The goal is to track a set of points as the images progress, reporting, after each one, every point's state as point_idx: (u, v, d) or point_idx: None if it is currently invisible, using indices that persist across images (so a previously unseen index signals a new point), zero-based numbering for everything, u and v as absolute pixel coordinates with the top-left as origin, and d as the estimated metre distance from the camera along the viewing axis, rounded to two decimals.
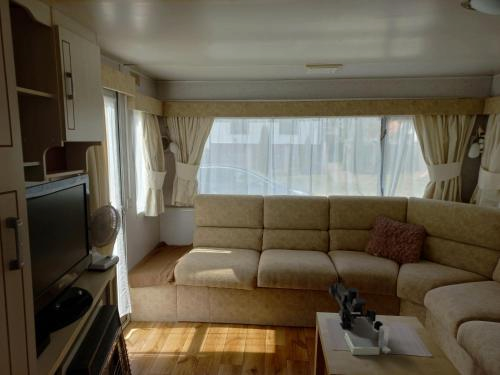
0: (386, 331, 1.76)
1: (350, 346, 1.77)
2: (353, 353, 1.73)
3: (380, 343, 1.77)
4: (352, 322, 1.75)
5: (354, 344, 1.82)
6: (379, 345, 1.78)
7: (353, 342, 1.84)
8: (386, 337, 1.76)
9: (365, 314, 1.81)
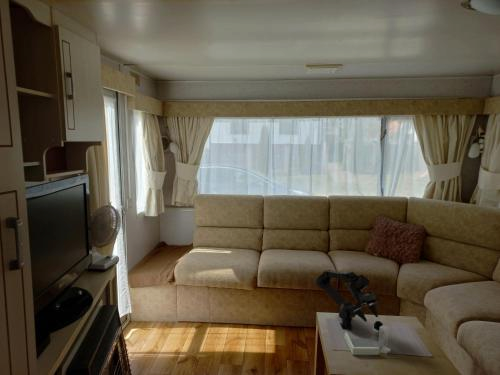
0: (386, 331, 1.76)
1: (350, 346, 1.77)
2: (353, 353, 1.73)
3: (380, 343, 1.77)
4: (363, 318, 1.82)
5: (354, 344, 1.82)
6: (379, 345, 1.78)
7: (353, 342, 1.84)
8: (386, 337, 1.76)
9: (369, 302, 1.89)
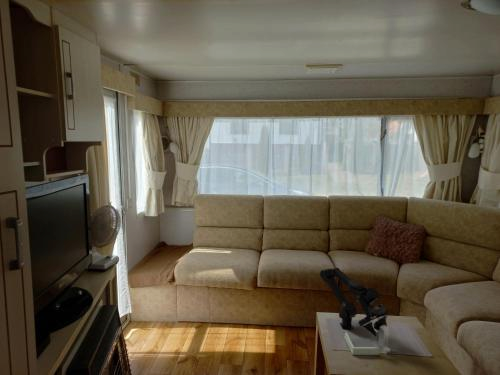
0: (386, 331, 1.76)
1: (350, 346, 1.77)
2: (353, 353, 1.73)
3: (380, 343, 1.77)
4: (373, 332, 1.77)
5: (354, 344, 1.82)
6: (379, 345, 1.78)
7: (353, 342, 1.84)
8: (386, 337, 1.76)
9: (378, 315, 1.84)
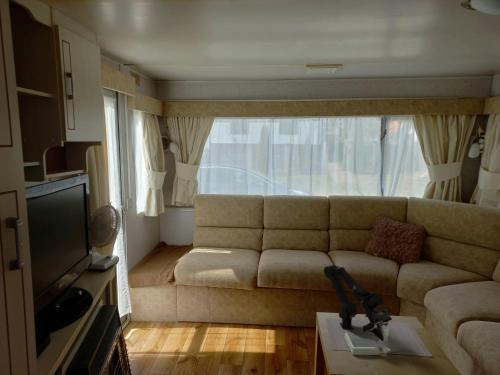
0: (386, 331, 1.76)
1: (350, 346, 1.77)
2: (353, 353, 1.73)
3: (380, 343, 1.77)
4: (379, 337, 1.76)
5: (354, 344, 1.82)
6: (379, 345, 1.78)
7: (353, 342, 1.84)
8: (386, 337, 1.76)
9: (379, 322, 1.81)
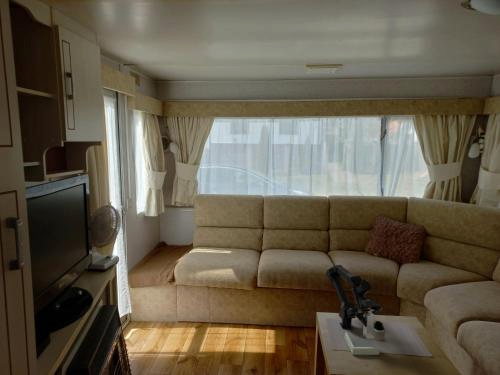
0: (371, 318, 1.76)
1: (350, 346, 1.77)
2: (353, 353, 1.73)
3: (364, 329, 1.78)
4: (363, 323, 1.77)
5: (354, 344, 1.82)
6: (364, 331, 1.79)
7: (353, 342, 1.84)
8: (370, 324, 1.76)
9: (367, 309, 1.81)
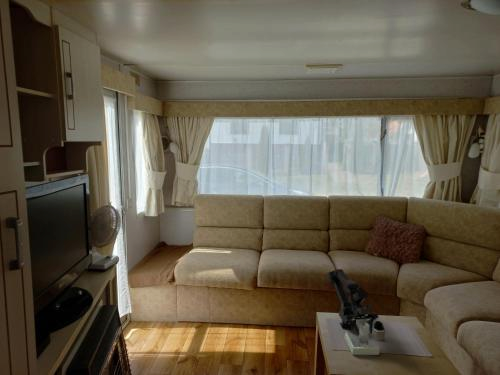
0: (366, 329, 1.77)
1: (350, 346, 1.77)
2: (353, 353, 1.73)
3: (359, 339, 1.80)
4: (356, 330, 1.78)
5: (354, 344, 1.82)
6: (359, 341, 1.80)
7: (353, 342, 1.84)
8: (365, 334, 1.78)
9: (366, 317, 1.83)
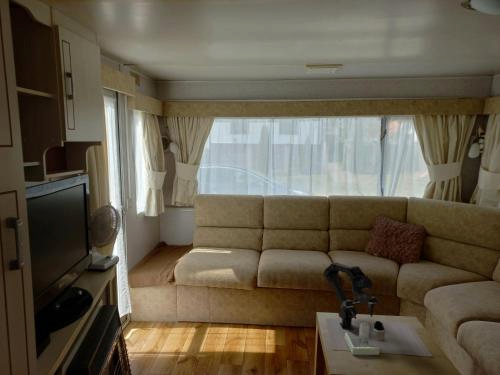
0: (366, 329, 1.77)
1: (350, 346, 1.77)
2: (353, 353, 1.73)
3: (359, 339, 1.80)
4: (353, 315, 1.85)
5: (354, 344, 1.82)
6: (359, 341, 1.80)
7: (353, 342, 1.84)
8: (365, 334, 1.78)
9: None
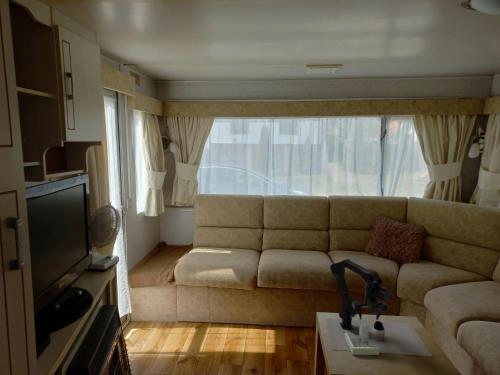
0: (366, 329, 1.77)
1: (350, 346, 1.77)
2: (353, 353, 1.73)
3: (359, 339, 1.80)
4: (359, 316, 1.85)
5: (354, 344, 1.82)
6: (359, 341, 1.80)
7: (353, 342, 1.84)
8: (365, 334, 1.78)
9: None
